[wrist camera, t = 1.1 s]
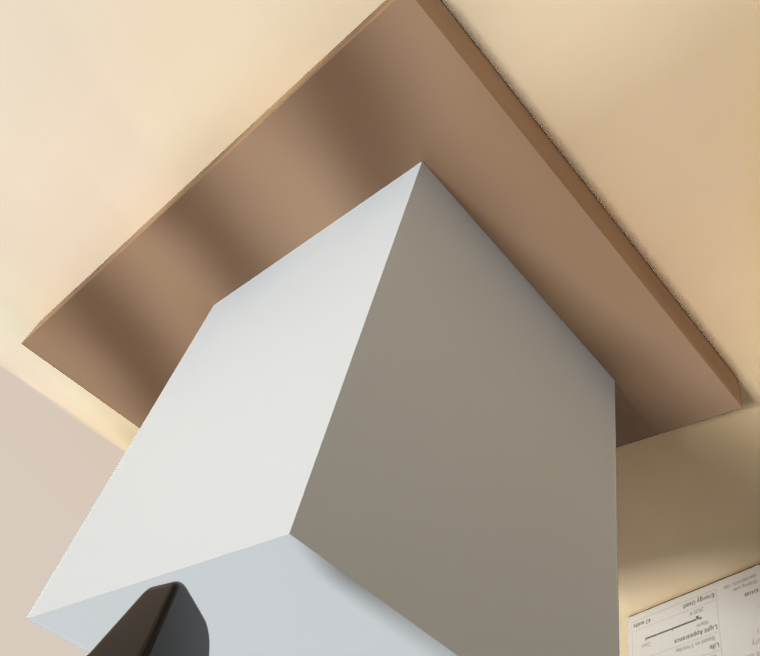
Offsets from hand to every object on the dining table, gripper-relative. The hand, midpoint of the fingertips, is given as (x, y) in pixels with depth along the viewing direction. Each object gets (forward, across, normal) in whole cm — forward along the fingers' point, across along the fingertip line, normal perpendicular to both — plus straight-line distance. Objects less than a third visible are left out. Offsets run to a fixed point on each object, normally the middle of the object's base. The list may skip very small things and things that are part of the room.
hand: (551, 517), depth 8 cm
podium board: (+15, -3, -6) cm, 16 cm away
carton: (+12, -1, -5) cm, 14 cm away
